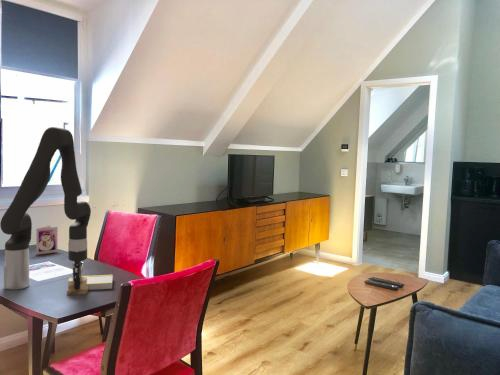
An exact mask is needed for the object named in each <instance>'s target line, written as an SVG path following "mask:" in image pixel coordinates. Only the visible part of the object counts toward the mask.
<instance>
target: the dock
mask: <svg viewBox="0 0 500 375" xmlns="http://www.w3.org/2000/svg"><path fill="white" fill-rule="evenodd" d="M81 277H87V286H88V291H91V290H109V289H113V282H114V281H113V279H114V275H113V274H103V275H102V274H99V275H81Z"/></svg>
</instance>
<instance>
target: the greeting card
mask: <svg viewBox="0 0 500 375" xmlns="http://www.w3.org/2000/svg"><path fill="white" fill-rule="evenodd" d="M35 230H36V231H35V232H36V237H35V238H36V239H35V240H36V244H35V245H36V247H35V248H36V255H44V254H51V253H52V254H53V253H58V226H54V227H51V225H46V226H42V227H38V228H36V229H35Z"/></svg>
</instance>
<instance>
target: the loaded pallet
mask: <svg viewBox="0 0 500 375" xmlns="http://www.w3.org/2000/svg"><path fill="white" fill-rule="evenodd" d="M75 278H78V277H76V276H75ZM88 292H89V290H88V286H87V277H80V289H74V281H73V277H69V279H68V281H67V289H66V296H75V295H88Z"/></svg>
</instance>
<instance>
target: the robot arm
mask: <svg viewBox="0 0 500 375" xmlns="http://www.w3.org/2000/svg"><path fill="white" fill-rule="evenodd" d="M57 150H58V152H59V155H60V158H61V169H60V183H61V187H62V191H63V195H64V198H63V199H64V200H63V201H64V202H63V210H64V214H65V215H66V217H67V219H69V220H72V221H74V220H75V221H74V223H72V224H70V225H69V228H68V243H67V244H68V249H67V250H68V252H67V254H68V261H71V262H73V263H72V267H71V268H72V275H73V276H72V278H73V281H74V289H80V277H81V276H83V271H84V261H85V260H87V259H88V239H87V238H88V234H87V233H88V225H89V222H90V218H91V213H92V210H91V207H90V204H89V203H88V202H86V201H78V197H80V196H81V195H82V193H83V191H82V185H81V182H80V178H79V175H78V171H77V170H78V169H77V163H76V155H75V154H76V153H75V152H76V151H75V144H74V136H73V134H72V133H71V131H70V130H69V129H67V128H62V127H56V126H51V127H48V128H46V129H45V130H44V132H43V134H42V135H41V138H40V141H39V143H38V147H37V150H36V151H35V152H36V153H34V154H35V155H34V156H33V159H32V161H31V163H30V166H29V167H28V169H27V171H26V173H25V175H24V177H23V179H22V180H21V183H20V186H19V187H18V190H17V192H16V194H15V196H14V198H13V199H12V201H11V202H10V205H9V206H8V208H7V209H6V211H5V213H4V214H3V216H2V217H1V219H0V229H1V231H2V233H3V234H6V235H9V236H10V237H9V239H8V240H6V241H5V243H4V265H5V266H4V267H3V289H4V290H12V291H13V290H20V289H25V288H27V287H28V288H29V287H30V243H31V241H32V228H33V227H32V225H33V223H32V218H31V216H30V215H29V213H28V212H27V211H28V209H29V208H30V207H32V205H33V204H34V203H35V202H36V201H37V200H38V199H39V198H40V197H41V196H42V195H43V193H44V192H45V191H46V188H47V187H48V185H49V182H50V179H51V162H52V159H53V158H54V155H55V153H56V152H57ZM75 277H78V278H75Z"/></svg>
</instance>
